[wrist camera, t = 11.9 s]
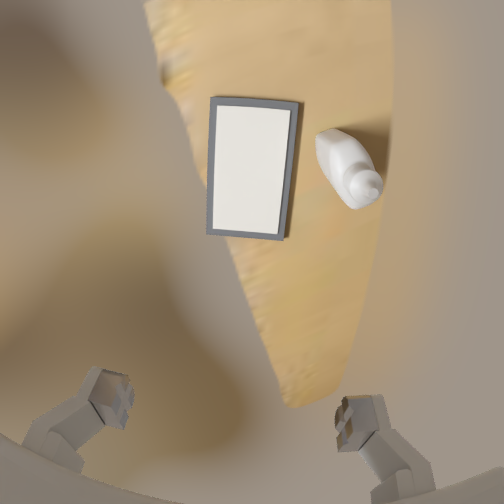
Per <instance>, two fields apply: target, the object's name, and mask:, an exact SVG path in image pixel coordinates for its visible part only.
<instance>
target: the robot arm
mask: <svg viewBox="0 0 504 504" xmlns="http://www.w3.org/2000/svg"><path fill="white" fill-rule="evenodd" d="M129 382H130V379H129V376H128V375H126V374H122V373H117V372H114V371H109V370H106V369H103V368H99V367H95V366H93V367H92V368H91V369H90V370H89V372H88V374H87V376H86V378H85V380H84V382H83V384H82V385H81V388H80V389H79V392H78V394H77V396H76V397H74V396H72V397H71V398H69V399H67V400H66V401H64V402H63V403H61V404H59V405H58V406H57V407H55V408H53V409H52V410H50V411H48V412H47V413H45V414H43V415H42V416H40V417H39V418H37V419H35V420H34V421H33V422H32V424H31V426H30V428H29V430H28V432H27V434H26V436H25V438H24V441H23V443H22V445H20V444H18V443H16V442H14V441H13V440H11V439H9V438H8V437H6V436H4V435H3V434H1V433H0V504H183V503H177V502H172V501H168V500H163V499H159V498H155V497H150V496H146V495H142V494H139V493H135V492H132V491H128V490H125V489H121V488H118V487H115V486H112V485H109V484H106V483H104V482H100V481H98V480H95V479H92V478H90V477H87V476H85V475H82V474H81V471H82V468H83V465H84V459H83V458H82V457H81V456H80V455H79V454H78V453H77V452H76V450H77V449H78V448H80V447H81V446H82V445H83V444H84V443H86V442H87V441H88V440H89V439H91V438H92V437H93V436H94V435H95V434H97V433H98V432H99V431H100V430H101V429H102V428H103V427H105V425H107V426H111V427H115V428H118V429H122V430H124V428H125V425H126V422H127V419H128V414H127V411H128V410H129V409H130V408H132V405H133V402H134V389H133V387H132V386H131V385H130V384H129ZM341 402H342V405H341V406H339V407H338V409H337V410H336V413H335V429H336V430H337V431H338V432H339V435H338V436H337V438H336V439H337V448H338V452H349V451H350V452H351V451H358V453H359V454H360V456H361V457H362V458H363V459H364V461H365V462H366V463H367V465H368V466H369V467H370V469H371V470H372V471H373V472H374V474H375V475H376V476H377V477H378V479H379V480H380V481H381V484H380V485H378V486H377V487H375V488H374V489H373V490H372V491H371V492H370V493H371V502H372V504H504V468H503V467H496V468H493V469H491V470H489V471H486V472H484V473H482V474H479V475H477V476H474V477H472V478H469V479H467V480H464V481H461V482H459V483H456V484H453V485H450V486H447V487H444V488H441V489H438V490H436V488H435V482H434V478H433V473H432V469H431V465H430V462H429V461H428V460H426V459H425V458H424V457H423V456H422V455H421V454H420V453H419V452H418V451H417V450H416V449H415V448H414V447H413V446H412V445H411V444H410V443H409V442H408V441H407V440H406V439H405V438H404V437H402V435H401V434H400V433H398V432H397V431H396V430H395V429H391V425H390V421H389V417H388V413H387V409H386V405H385V402H384V397H383V396H382V395H380V394H379V395H359V396H345V397H343V399H342V401H341Z"/></svg>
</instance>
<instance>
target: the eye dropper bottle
mask: <svg viewBox="0 0 504 504" xmlns="http://www.w3.org/2000/svg"><path fill="white" fill-rule="evenodd" d="M315 148H316V155H317V159H318V162H319V165H320V167H321V169H322V171H323V173H324V174H325V176H326V177H327V179H328V180H329V182H330V183H331V184H332V186H333V187H334V189H335V190H336V192H337V193H338V195H339V196H340V197H341V199H342V200H343V201H344V202H345V203H346V205H348V206H349V207H350V208H352V209H360V208H363V207H366V206H368V205H370V204H372V203H373V202H375V201H376V200H377V199H378V198H379V197H380V196H381V194H382V192H383V181H382V179H381V177H380V175H379V174H378V173H377V172H376V171H375V168H374V165H373V162H372V160H371V158H370V156H369V154H368V153H367V151H366V150H365V148H364V147H363V146H362V145H361V144H360V142H358V141H357V140H356V139H355V138H354V137H352V136H350V135H348V134H346V133H344V132H342V131H339V130H337V129H329V130H326V131H323V132H321V133H319V134H317V136H316V140H315Z"/></svg>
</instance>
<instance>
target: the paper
mask: <svg viewBox="0 0 504 504" xmlns="http://www.w3.org/2000/svg"><path fill="white" fill-rule="evenodd" d="M289 119H290V110H281V109H270V108H257V107H242V106H217V120H216V140H215V165H214V197H213V229H223V230H236V231H247V232H259V233H270V234H277V233H278V224H279V215H280V206H281V197H282V188H283V179H284V169H285V160H286V150H287V140H288V129H289Z"/></svg>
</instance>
